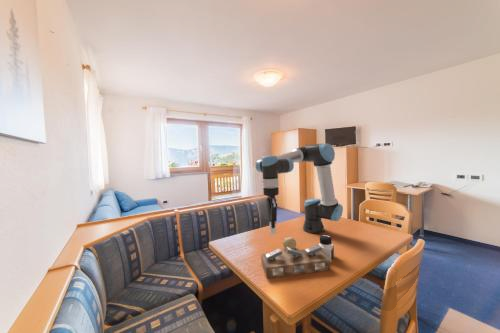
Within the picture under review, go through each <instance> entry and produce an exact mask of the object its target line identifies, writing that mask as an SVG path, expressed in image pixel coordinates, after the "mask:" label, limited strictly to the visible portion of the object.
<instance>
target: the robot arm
mask: <svg viewBox="0 0 500 333" xmlns="http://www.w3.org/2000/svg"><path fill="white" fill-rule="evenodd" d="M335 153H336V152H335V149H334V148H333V146H332V145H331V144H330V143H324V142H323V143H314V144H307V145H303V146H300V147H297V148H294V149H293V150H292V151H289V152H286V153H282V154H279V155H265V156H262V159H258V160H257V161H256V162H255V170H256V172H258V173H262V180H261V183H262V185H263V186H262V187H263V196H267V197H266V199H265V200H266V207H267V217H268V222H269V234H270V235H276V234H277V231H276V230H277V229H276V225H277V224H276V222H277V219H278V218H277V217H278V216H277V215H278V214H277V212H278V203H277V198H276V197H277V196H278V195H279V194H280V190H279V187H278V186H279V174H288V173H290V172H292V171H293V170H294V166H295V164H296V163H297V164H299V163H302V162H304V163H305V162H307V163H309V162H310V163H312V164H313V166H314V167H315V168H316V173H317V177H318V178H317V179H318V184H319V189H320V196H321V198H309V199H305V201H304V221H303V226H302V230H303V231H304V232H307V233H309V234H321V233H324V232H325V227H324V223H323V221H322V219H324V220H328V221H331V222H332V221H334V222H338V221H339V220H340V219H341V217H342V216H343V210H344V208H343V205H342V204H340V203H339V200H338V199H337V198H336V196H335V189H334V183H333V177H332V170H331V165H332V164H333V162H334V160H335V156H336V154H335ZM294 163H295V164H294Z"/></svg>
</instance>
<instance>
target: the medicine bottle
mask: <svg viewBox="0 0 500 333" xmlns="http://www.w3.org/2000/svg"><path fill="white" fill-rule="evenodd" d="M318 244H319V245H320V246H321V247H322V250H321V252H323V253H324V254H325V255H326V256H327V257H328V258H329V259H330V263H332V262H333V260H334V259H335V258H334V257H335V250H334V249H335V247H334V243H333V242H332V237H331V236H330V235H324V234H323V235H320V236H319V243H318Z"/></svg>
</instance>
